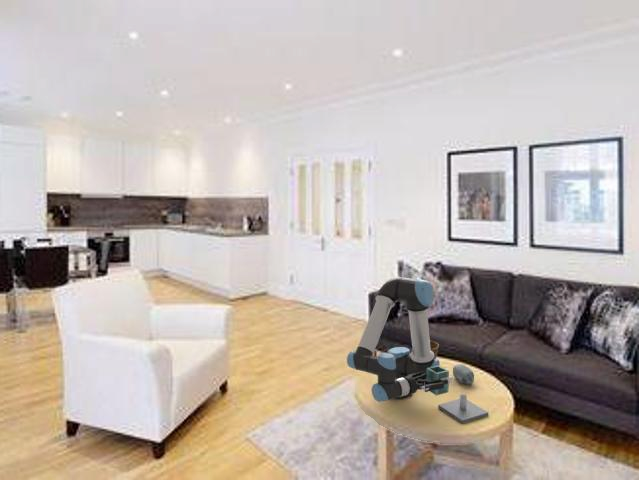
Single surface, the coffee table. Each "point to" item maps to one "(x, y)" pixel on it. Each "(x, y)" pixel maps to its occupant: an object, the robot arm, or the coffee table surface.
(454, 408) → the hub plate
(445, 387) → the sleeve
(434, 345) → the plant pot
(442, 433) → the coffee table surface
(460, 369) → the grey rounded piece
